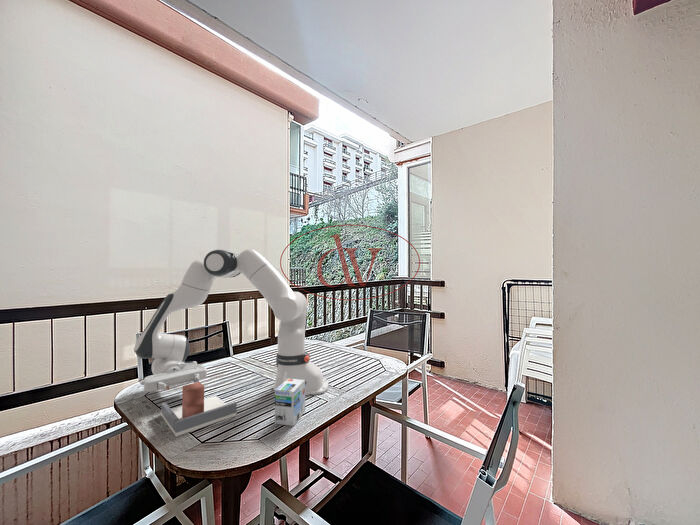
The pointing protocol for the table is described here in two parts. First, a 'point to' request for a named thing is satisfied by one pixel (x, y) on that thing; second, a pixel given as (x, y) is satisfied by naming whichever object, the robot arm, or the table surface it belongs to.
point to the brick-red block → (192, 399)
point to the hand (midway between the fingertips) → (182, 384)
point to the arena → (197, 415)
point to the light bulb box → (289, 402)
